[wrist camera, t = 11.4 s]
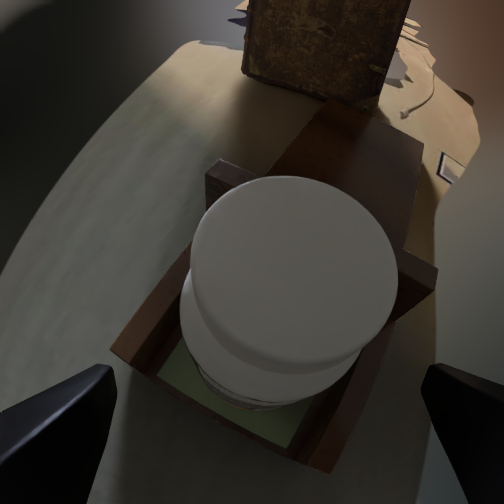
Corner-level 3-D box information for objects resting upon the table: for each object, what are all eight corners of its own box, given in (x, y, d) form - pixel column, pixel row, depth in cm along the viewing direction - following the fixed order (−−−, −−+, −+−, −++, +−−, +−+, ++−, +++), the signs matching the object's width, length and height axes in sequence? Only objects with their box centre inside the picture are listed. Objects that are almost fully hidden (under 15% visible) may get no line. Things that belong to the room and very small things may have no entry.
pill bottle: (217, 291, 17) (217, 138, 8) (320, 320, 16) (414, 196, 8) (181, 392, 14) (116, 332, 5) (296, 424, 13) (409, 410, 5)
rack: (307, 466, 13) (367, 488, 7) (131, 366, 16) (75, 321, 9) (418, 153, 28) (447, 98, 22) (325, 108, 31) (342, 48, 24)
